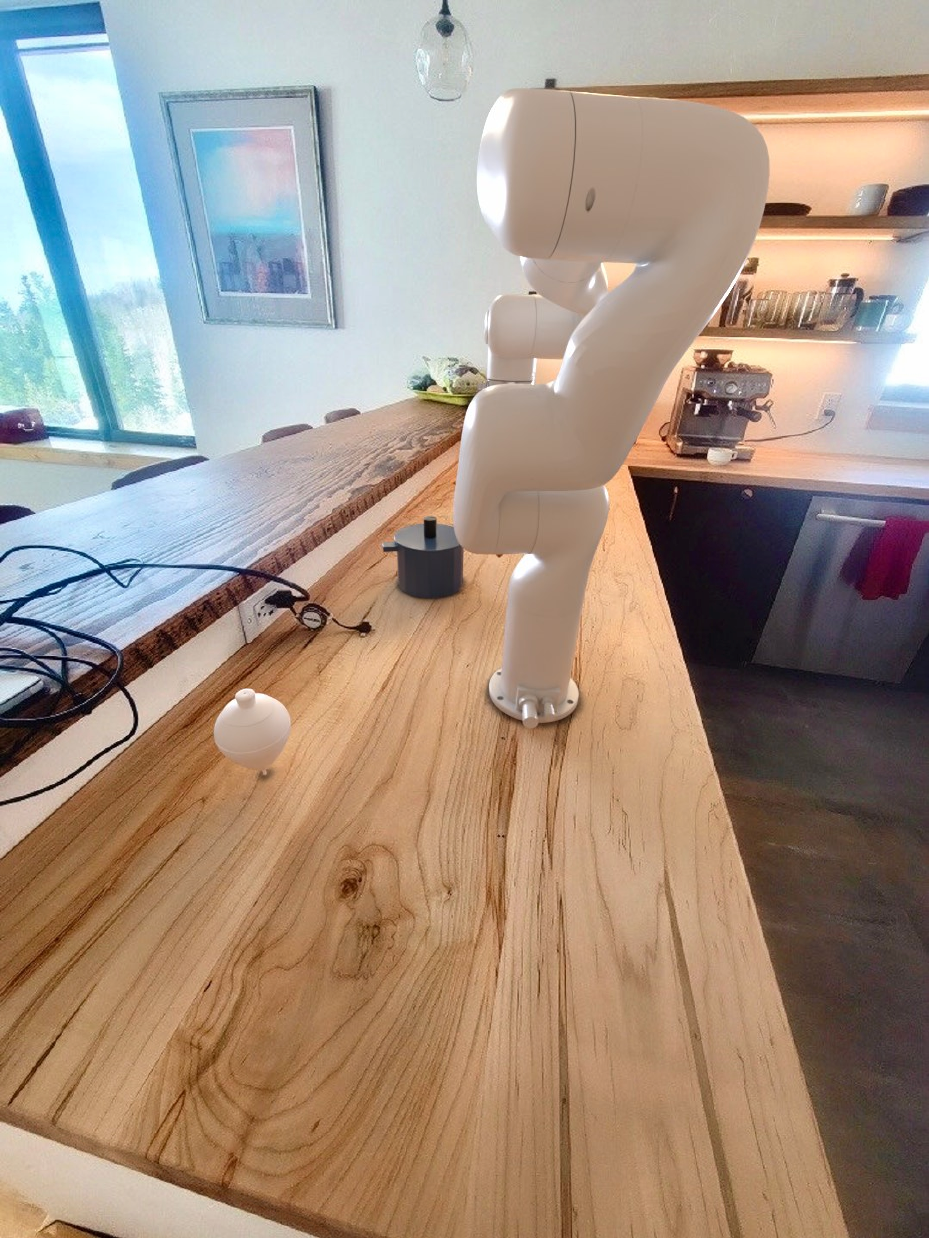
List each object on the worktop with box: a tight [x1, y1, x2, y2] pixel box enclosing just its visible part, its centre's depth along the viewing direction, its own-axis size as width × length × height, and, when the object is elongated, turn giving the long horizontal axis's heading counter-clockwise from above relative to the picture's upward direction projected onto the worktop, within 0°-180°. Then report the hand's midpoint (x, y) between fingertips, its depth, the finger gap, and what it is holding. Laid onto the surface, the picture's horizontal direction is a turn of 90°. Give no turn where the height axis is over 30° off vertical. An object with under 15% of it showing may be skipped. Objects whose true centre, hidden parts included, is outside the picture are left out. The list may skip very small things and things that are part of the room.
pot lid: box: [393, 515, 461, 553], centre depth 94 cm, size 14×14×5 cm
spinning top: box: [213, 688, 292, 776], centre depth 55 cm, size 8×8×12 cm
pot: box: [381, 541, 465, 599], centre depth 98 cm, size 13×18×10 cm
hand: (502, 505), depth 88 cm, fingers closed on carrot, 4 cm apart
